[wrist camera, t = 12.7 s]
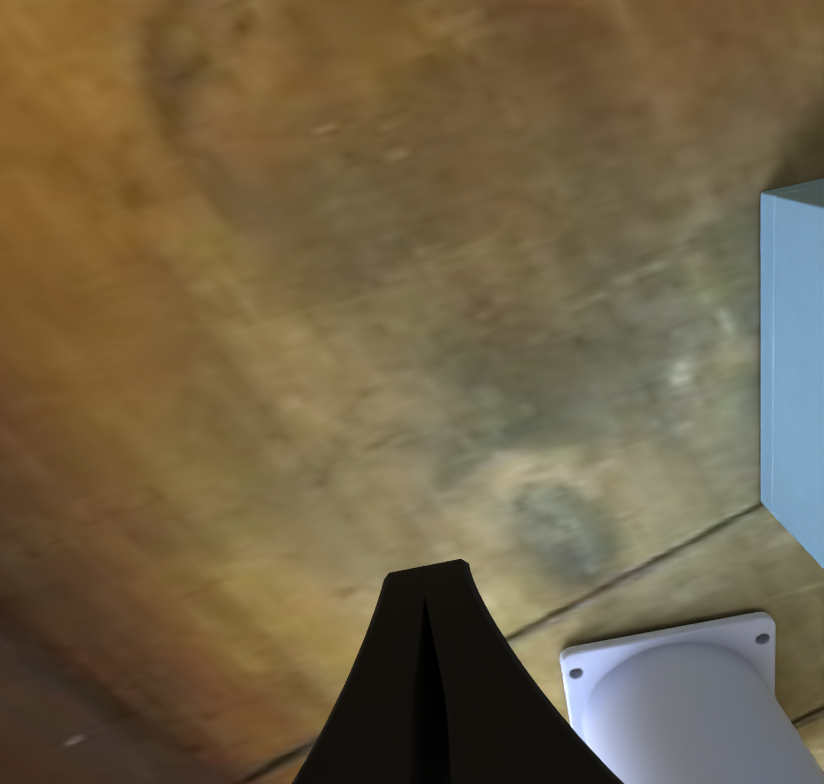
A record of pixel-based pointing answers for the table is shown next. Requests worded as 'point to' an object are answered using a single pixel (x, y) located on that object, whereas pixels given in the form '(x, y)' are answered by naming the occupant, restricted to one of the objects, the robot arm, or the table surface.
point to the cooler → (793, 360)
